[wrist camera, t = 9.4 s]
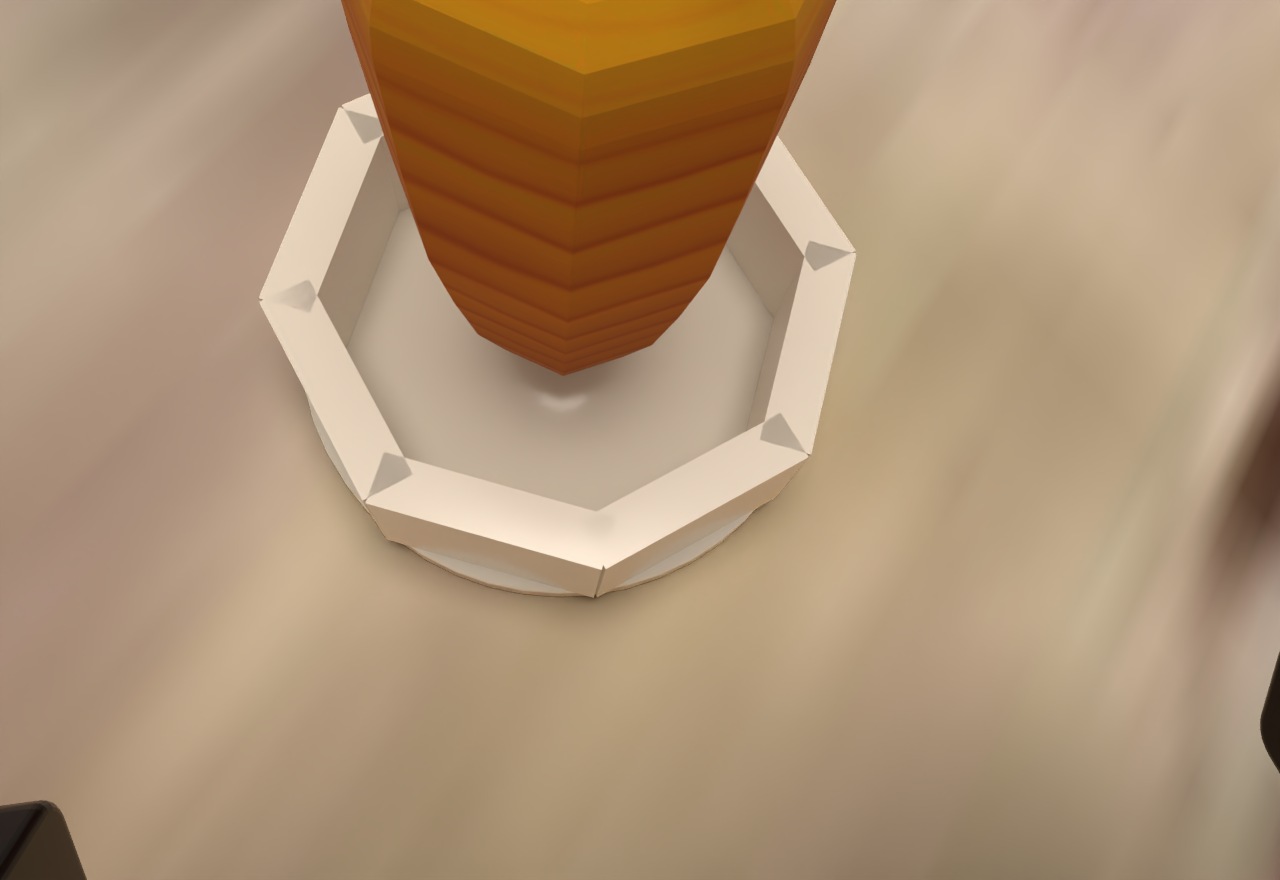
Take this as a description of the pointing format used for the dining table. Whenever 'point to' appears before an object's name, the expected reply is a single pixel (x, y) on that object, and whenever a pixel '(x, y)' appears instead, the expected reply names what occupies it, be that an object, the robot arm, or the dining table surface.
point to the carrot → (580, 151)
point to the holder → (553, 387)
